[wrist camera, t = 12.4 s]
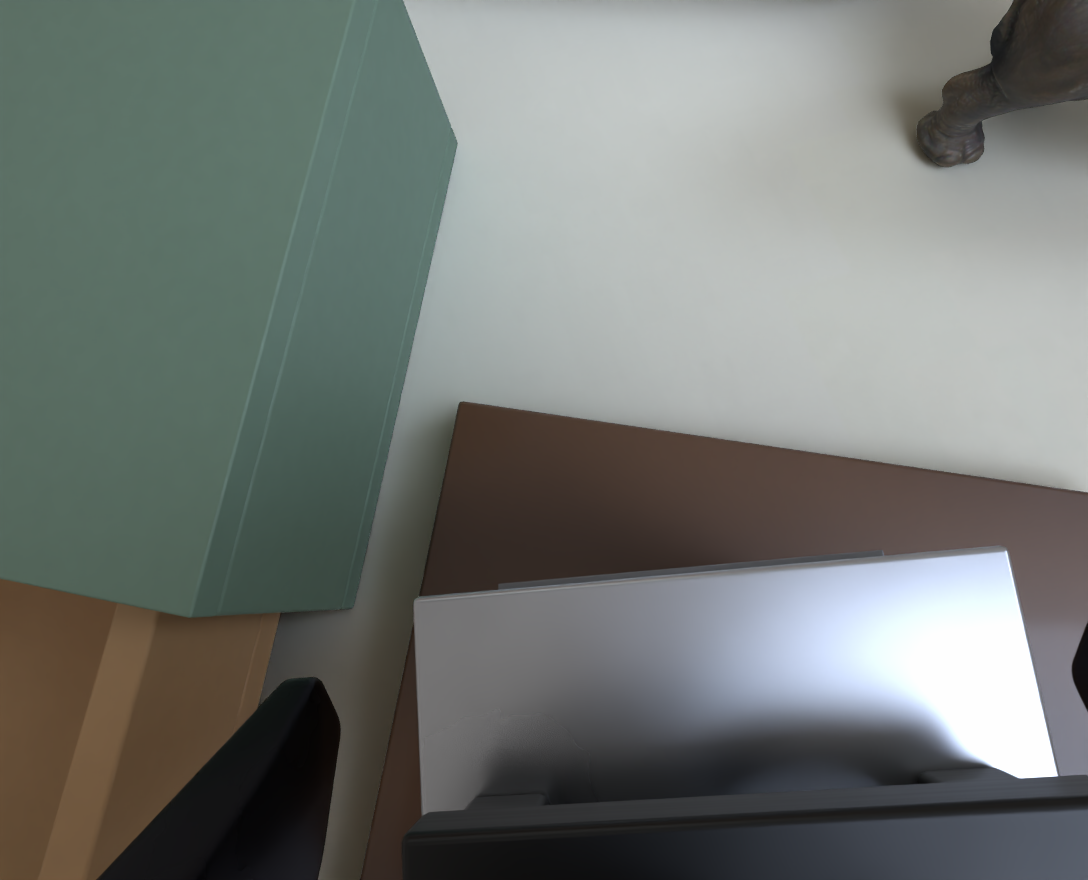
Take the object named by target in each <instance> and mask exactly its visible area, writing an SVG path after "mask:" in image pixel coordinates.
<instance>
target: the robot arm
mask: <svg viewBox="0 0 1088 880" xmlns="http://www.w3.org/2000/svg"><path fill="white" fill-rule="evenodd" d="M1072 678H1073V681H1074V684H1075V687H1076V689H1077V691H1078V693H1079V695H1080V697H1081V699H1082V701H1083V703H1084V706H1085V708H1086V710H1087V712H1088V622H1087V624H1086V626H1085V629H1084V632H1083V634H1082V637H1081V640H1080V643H1079V645H1078V648H1077V651H1076V653H1075V656H1074V659H1073V662H1072ZM340 731H341V728H340V721H339V717H338V714H337V712H336V710H335V708H334V706H333V704H332V702H331V699H330V697H329V695H328V693H327V691H326V689H325V687H324V684H323V683H322V681H321V680H319V679H318V678H316V677H307V678H294V679H288V680H286V681H284V682H283V683H282V684H280V685H279V686H278V687H277V688H276V690H275V691H274V692H273V693H272V694H271V695H270V696H269V697H268V698H267V699H266V700H265V701H264V702H263V703H262V704H261V705H260V707H259V708H258V709H257V710H256V711H255V712H254V713H253V714H252V715H251V716H250V717H249V718H248V719H247V720H246V721H245V722H244V723H243V725H242V726H241V727H240V728H239V729H238V730H237V731H236V732H235V733H234V734H233V735H232V736H231V737H230V738H229V739H228V740H227V742H226V743H225V744H224V745H223V746H222V747H221V748H220V749H219V750H218V751H217V752H216V753H215V754H214V755H213V756H212V757H211V758H210V760H209V761H208V762H207V763H206V764H205V765H204V766H203V767H202V768H201V769H200V770H199V771H198V772H197V773H196V774H195V775H194V776H193V778H192V779H191V780H190V781H189V782H188V783H187V784H186V785H185V786H184V787H183V788H182V789H181V790H180V791H179V792H178V793H177V795H176V796H175V797H174V798H173V799H172V800H171V801H170V802H169V803H168V804H167V805H166V806H165V807H164V808H163V809H162V810H161V811H160V813H159V814H158V815H157V816H156V817H155V818H154V819H153V820H152V821H151V822H150V823H149V824H148V825H147V826H146V827H145V828H144V830H143V831H142V832H141V833H140V834H139V835H138V836H137V837H136V838H135V839H134V840H133V841H132V842H131V843H130V844H129V845H128V846H127V848H126V849H125V850H124V851H123V852H122V853H121V854H120V855H119V856H118V857H117V858H116V859H115V860H114V861H113V862H112V863H111V865H110V866H109V867H108V868H107V869H106V870H105V871H104V872H103V873H102V874H101V875H100V876H99V877H98V878H97V879H96V880H318V876H319V871H320V867H321V862H322V857H323V851H324V845H325V839H326V832H327V825H328V818H329V811H330V804H331V797H332V790H333V783H334V777H335V770H336V763H337V756H338V749H339V742H340Z"/></svg>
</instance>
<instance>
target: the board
mask: <svg viewBox="0 0 1088 880" xmlns="http://www.w3.org/2000/svg"><path fill="white" fill-rule="evenodd" d="M990 546H1003V547H1006V548H1007V549H1008V551H1009V554H1010V558H1011V563H1012V567H1013V571H1014V576H1015V580H1016V585H1017V589H1018V593H1019V598H1020V602H1021V607H1022V611H1023V615H1024V620H1025V624H1026V628H1027V633H1028V637H1029V642H1030V646H1031V650H1032V655H1033V659H1034V664H1035V668H1036V672H1037V677H1038V681H1039V686H1040V690H1041V694H1042V699H1043V703H1044V708H1045V712H1046V716H1047V721H1048V725H1049V730H1050V734H1051V738H1052V743H1053V747H1054V752H1055V756H1056V760H1057V765H1058V769H1059V774H1060V776H1068V775H1088V712H1087V710H1086V708H1085V706H1084V703H1083V701H1082V699H1081V697H1080V695H1079V693H1078V691H1077V689H1076V687H1075V684H1074V681H1073V678H1072V662H1073V659H1074V656H1075V653H1076V651H1077V648H1078V645H1079V643H1080V640H1081V637H1082V634H1083V632H1084V629H1085V626H1086V624H1087V622H1088V492H1081V491H1074V490H1067V489H1061V488H1054V487H1047V486H1040V485H1033V484H1026V483H1019V482H1013V481H1006V480H999V479H992V478H985V477H978V476H971V475H964V474H958V473H951V472H944V471H937V470H930V469H923V468H916V467H910V466H903V465H896V464H889V463H882V462H875V461H868V460H862V459H855V458H848V457H841V456H834V455H827V454H820V453H814V452H807V451H800V450H793V449H786V448H779V447H772V446H766V445H759V444H752V443H745V442H738V441H731V440H724V439H718V438H711V437H704V436H697V435H690V434H683V433H676V432H670V431H663V430H656V429H649V428H642V427H635V426H628V425H622V424H615V423H608V422H601V421H594V420H587V419H580V418H574V417H567V416H560V415H553V414H546V413H539V412H532V411H526V410H519V409H512V408H505V407H498V406H491V405H484V404H478V403H471V402H464V401H463V402H460V403H459V405H458V410H457V415H456V420H455V425H454V429H453V434H452V439H451V444H450V449H449V454H448V458H447V463H446V468H445V473H444V478H443V482H442V487H441V492H440V497H439V502H438V506H437V511H436V516H435V521H434V526H433V531H432V535H431V540H430V545H429V550H428V555H427V559H426V564H425V569H424V574H423V579H422V583H421V588H420V593H419V597H420V596H432V595H443V594H454V593H466V592H477V591H489V590H499V589H498V584H503V583H514V582H525V581H537V580H548V579H559V578H571V577H582V576H593V575H604V574H616V573H627V572H638V571H650V570H661V569H672V568H683V567H695V566H706V565H717V564H729V563H740V562H751V561H762V560H774V559H785V558H796V557H808V556H819V555H830V554H841V553H853V552H864V551H875V550H883V553H884V556H887V555H899V554H910V553H921V552H933V551H944V550H956V549H967V548H978V547H990ZM421 817H422V811H421V787H420V762H419V738H418V714H417V689H416V665H415V641H414V622H413V627H412V632H411V636H410V641H409V646H408V651H407V656H406V660H405V665H404V670H403V675H402V680H401V685H400V689H399V694H398V699H397V704H396V709H395V713H394V718H393V723H392V728H391V733H390V737H389V742H388V747H387V752H386V757H385V761H384V766H383V771H382V776H381V781H380V786H379V790H378V795H377V800H376V805H375V810H374V814H373V819H372V824H371V829H370V834H369V838H368V843H367V848H366V853H365V858H364V863H363V867H362V872H361V877H360V880H403V875H402V847H401V843H402V840H403V837H404V835H405V834H406V833H407V832H408V831H409V829H410V828H411V827H412V826H413V825H414V824H415V823H416V822H417V821H418V820H419V819H420V818H421Z"/></svg>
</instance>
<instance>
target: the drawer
mask: <svg viewBox="0 0 1088 880" xmlns="http://www.w3.org/2000/svg"><path fill="white" fill-rule="evenodd" d="M280 614H281V613H263V614H243V615H224V616H213V617H196V618H187V617H182V616H178V615H173V614H168V613H163V612H158V611H153V610H149V609H144V608H139V607H134V606H129V605H124V604H120V603H115V602H110V601H105V600H100V599H95V598H91V597H86V596H81V595H76V594H71V593H66V592H62V591H57V590H52V589H47V588H42V587H37V586H33V585H28V584H23V583H18V582H13V581H9V580H4V579H0V880H96V879H97V878H98V877H99V876H100V875H101V874H102V873H103V872H104V871H105V870H106V869H107V868H108V867H109V866H110V865H111V863H112V862H113V861H114V860H115V859H116V858H117V857H118V856H119V855H120V854H121V853H122V852H123V851H124V850H125V849H126V848H127V846H128V845H129V844H130V843H131V842H132V841H133V840H134V839H135V838H136V837H137V836H138V835H139V834H140V833H141V832H142V831H143V830H144V828H145V827H146V826H147V825H148V824H149V823H150V822H151V821H152V820H153V819H154V818H155V817H156V816H157V815H158V814H159V813H160V811H161V810H162V809H163V808H164V807H165V806H166V805H167V804H168V803H169V802H170V801H171V800H172V799H173V798H174V797H175V796H176V795H177V793H178V792H179V791H180V790H181V789H182V788H183V787H184V786H185V785H186V784H187V783H188V782H189V781H190V780H191V779H192V778H193V776H194V775H195V774H196V773H197V772H198V771H199V770H200V769H201V768H202V767H203V766H204V765H205V764H206V763H207V762H208V761H209V760H210V758H211V757H212V756H213V755H214V754H215V753H216V752H217V751H218V750H219V749H220V748H221V747H222V746H223V745H224V744H225V743H226V742H227V740H228V739H229V738H230V737H231V736H232V735H233V734H234V733H235V732H236V731H237V730H238V729H239V728H240V727H241V726H242V725H243V723H244V722H245V721H246V720H247V719H248V718H249V717H250V716H251V715H252V714H253V713H254V712H255V711H256V710H257V708H258V704H259V700H260V696H261V692H262V688H263V684H264V680H265V676H266V671H267V667H268V663H269V659H270V655H271V651H272V647H273V643H274V639H275V634H276V630H277V626H278V622H279V618H280Z"/></svg>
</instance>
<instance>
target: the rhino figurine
mask: <svg viewBox="0 0 1088 880" xmlns="http://www.w3.org/2000/svg"><path fill="white" fill-rule="evenodd" d="M990 49H991V54H992V56H993V58H992V62H991V63H990V64H988V65H986V66H984V67H981V68H978V69H975V70H972V71H968V72H964V73H961V74H959V75H956V76H954V77H952V78H951V79H950V80H949V81H948V82H947V83H946V84H945V86H944V87H943V89H942V98H943V106H942V107H941V109H940V110H938V111H933V112H930V113H929V114H927V115H926V116H924V117H923V118H922V119H921V120H920V121H919V122H918V125H917V128H916V133H917V140H918V143H919V145H920V147H921V148H922V149H923V151H924V152H925V154H926V155H927V156H928V157H929V158H930V159H931V160H932V161H934V162H935V163H936V164H938V165H940V166H942V167H951V166H954V165H956V164H960V163H966V164H969V163H972V162H975V161H976V160H978V159H979V158H980V156H981V155H982V154H983V152H984V144H983V143H984V138H985V137H984V134H983V130H982V120H984V119H987V118H990V117H993V116H996V115H1000V114H1004V113H1007V112H1010V111H1013V110H1017V109H1024V108H1031V107H1038V106H1044V105H1049V104H1054V103H1060V102H1064V101H1079V100H1085V99H1088V0H1014V1H1013V3H1012V5H1011V7H1010V8H1009V10H1008V12H1007V13H1006V14H1005V15H1004V17H1003V18H1002V19H1001V21H1000V22H999V24H998V25H997V26H996V27H995V28H994V30H993V32H992V36H991V40H990Z"/></svg>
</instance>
